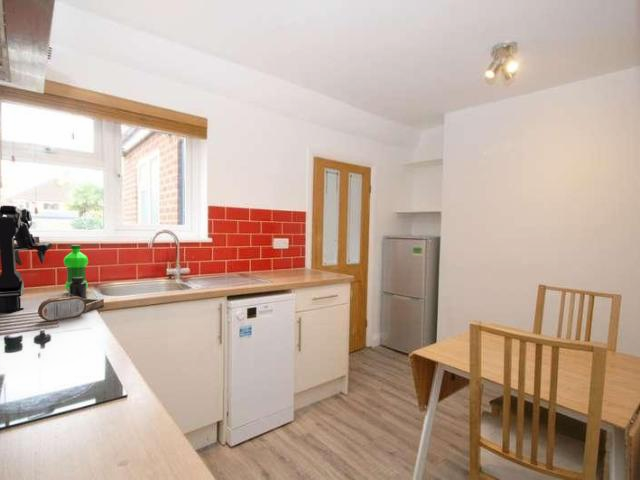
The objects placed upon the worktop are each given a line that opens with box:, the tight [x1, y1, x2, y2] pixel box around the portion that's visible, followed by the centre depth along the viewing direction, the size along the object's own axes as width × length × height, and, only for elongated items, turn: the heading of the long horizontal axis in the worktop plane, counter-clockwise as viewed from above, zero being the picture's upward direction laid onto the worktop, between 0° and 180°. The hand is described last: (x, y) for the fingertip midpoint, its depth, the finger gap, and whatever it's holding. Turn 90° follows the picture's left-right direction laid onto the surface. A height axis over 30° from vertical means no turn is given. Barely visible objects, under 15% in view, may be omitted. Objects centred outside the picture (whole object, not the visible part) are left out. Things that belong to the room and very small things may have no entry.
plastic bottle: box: [63, 244, 89, 293], centre depth 174 cm, size 10×10×25 cm
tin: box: [37, 296, 86, 322], centre depth 130 cm, size 15×3×8 cm, turn 141°
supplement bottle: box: [68, 276, 88, 299], centre depth 155 cm, size 7×7×12 cm
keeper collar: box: [82, 298, 105, 314], centre depth 145 cm, size 12×12×3 cm
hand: (31, 264), depth 163 cm, fingers open, 9 cm apart
